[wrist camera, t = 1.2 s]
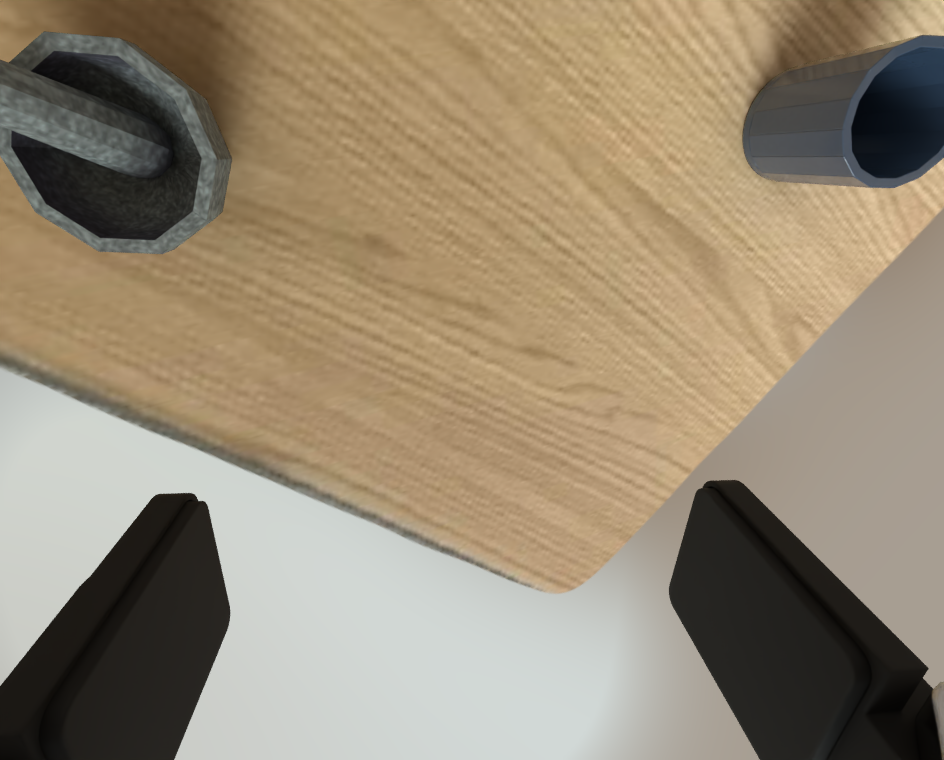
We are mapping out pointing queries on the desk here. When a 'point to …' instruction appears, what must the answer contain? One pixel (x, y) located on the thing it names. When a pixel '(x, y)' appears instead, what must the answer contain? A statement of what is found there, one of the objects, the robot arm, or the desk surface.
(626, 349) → the desk surface
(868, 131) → the blue cup
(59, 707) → the robot arm
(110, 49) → the mortar and pestle
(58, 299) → the desk surface
